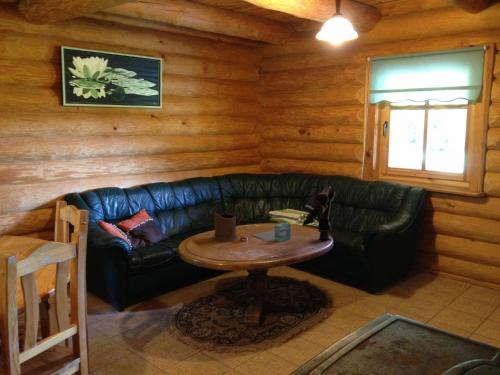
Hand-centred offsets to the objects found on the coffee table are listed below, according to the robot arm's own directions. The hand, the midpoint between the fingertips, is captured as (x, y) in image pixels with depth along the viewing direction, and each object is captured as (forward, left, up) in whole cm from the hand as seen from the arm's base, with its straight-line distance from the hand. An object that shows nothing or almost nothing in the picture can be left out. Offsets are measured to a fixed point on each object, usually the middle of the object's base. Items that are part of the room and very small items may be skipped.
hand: (303, 224), depth 314 cm
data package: (+8, -13, -14) cm, 21 cm away
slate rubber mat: (+8, -27, -14) cm, 31 cm away
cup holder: (+37, -41, -14) cm, 57 cm away
